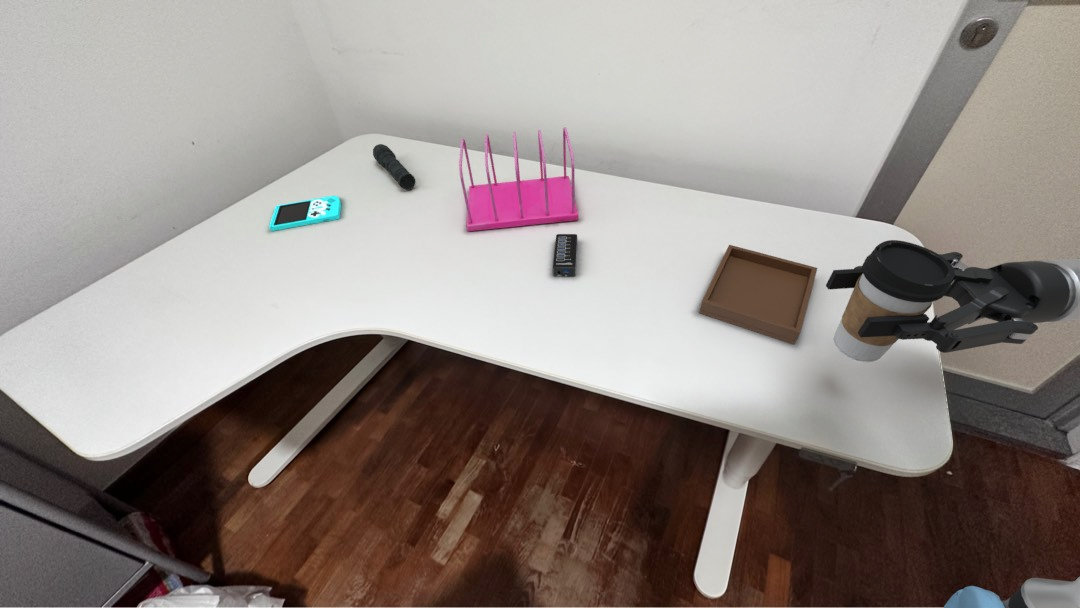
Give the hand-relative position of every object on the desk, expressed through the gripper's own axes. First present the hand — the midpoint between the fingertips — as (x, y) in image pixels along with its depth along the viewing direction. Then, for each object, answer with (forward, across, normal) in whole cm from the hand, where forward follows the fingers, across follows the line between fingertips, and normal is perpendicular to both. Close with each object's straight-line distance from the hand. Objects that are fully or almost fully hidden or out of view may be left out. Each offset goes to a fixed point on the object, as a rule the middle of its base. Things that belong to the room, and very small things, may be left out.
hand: (846, 302), depth 56 cm
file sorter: (+43, +54, -18) cm, 71 cm away
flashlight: (+77, +73, -18) cm, 108 cm away
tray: (-1, +20, -18) cm, 27 cm away
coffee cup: (-5, 0, -9) cm, 10 cm away
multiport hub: (+33, +33, -18) cm, 50 cm away
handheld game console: (+95, +56, -18) cm, 112 cm away
